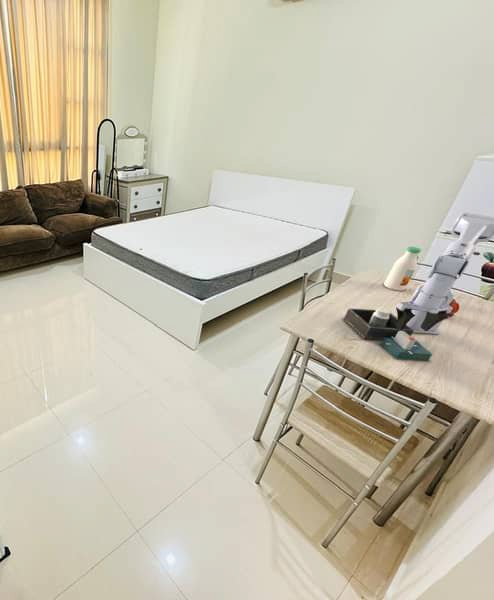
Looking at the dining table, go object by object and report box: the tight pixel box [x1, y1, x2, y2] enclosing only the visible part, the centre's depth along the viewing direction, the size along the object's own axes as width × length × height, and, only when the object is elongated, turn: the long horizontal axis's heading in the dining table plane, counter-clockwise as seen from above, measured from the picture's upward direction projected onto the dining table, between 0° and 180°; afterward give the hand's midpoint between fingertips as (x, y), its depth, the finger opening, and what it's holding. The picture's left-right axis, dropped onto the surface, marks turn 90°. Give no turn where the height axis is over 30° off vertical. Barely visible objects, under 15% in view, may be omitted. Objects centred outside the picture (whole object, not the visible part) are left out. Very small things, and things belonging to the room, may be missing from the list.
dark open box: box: [343, 307, 414, 342], centre depth 121 cm, size 15×14×5 cm
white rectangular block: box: [394, 331, 416, 350], centre depth 109 cm, size 6×2×4 cm, turn 174°
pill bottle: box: [368, 306, 392, 328], centre depth 120 cm, size 5×5×8 cm
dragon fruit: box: [446, 298, 460, 318], centre depth 131 cm, size 8×8×12 cm
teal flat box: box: [380, 336, 433, 362], centre depth 110 cm, size 12×10×3 cm
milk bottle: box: [383, 246, 422, 292], centre depth 149 cm, size 8×8×20 cm
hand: (411, 328), depth 106 cm, fingers open, 7 cm apart
